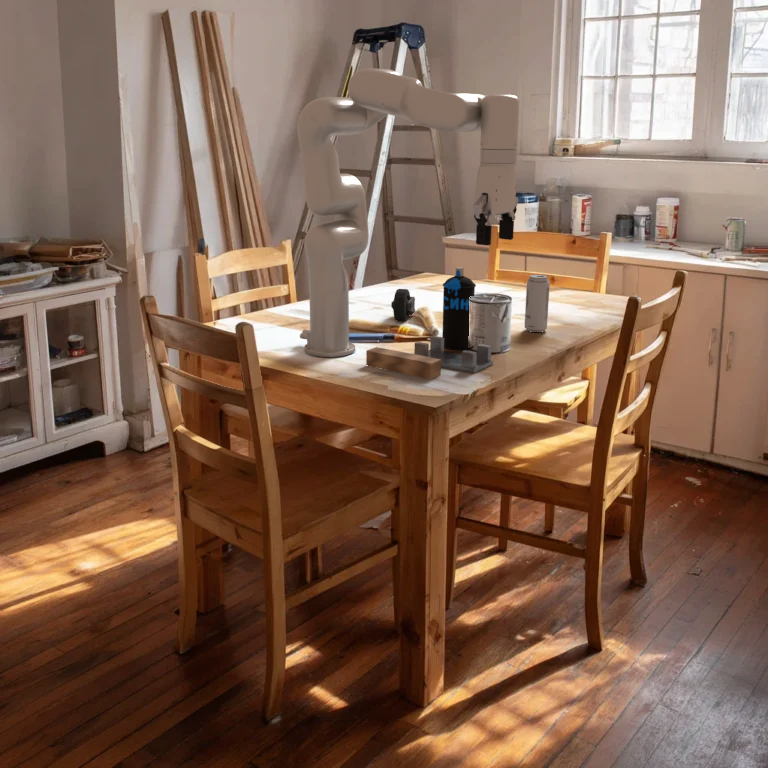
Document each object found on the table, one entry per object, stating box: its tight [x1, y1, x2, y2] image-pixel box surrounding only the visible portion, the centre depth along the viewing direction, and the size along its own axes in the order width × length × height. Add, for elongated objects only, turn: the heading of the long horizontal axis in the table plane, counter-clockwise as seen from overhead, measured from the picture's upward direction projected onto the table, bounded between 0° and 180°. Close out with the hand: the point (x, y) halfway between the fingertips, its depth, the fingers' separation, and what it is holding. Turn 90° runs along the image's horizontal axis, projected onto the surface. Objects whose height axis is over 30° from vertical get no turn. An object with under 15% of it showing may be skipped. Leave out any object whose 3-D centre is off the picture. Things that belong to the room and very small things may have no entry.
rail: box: [365, 346, 442, 380], centre depth 207 cm, size 18×4×4 cm, turn 55°
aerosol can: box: [441, 266, 477, 351], centre depth 225 cm, size 8×8×20 cm
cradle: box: [413, 335, 494, 374], centre depth 213 cm, size 17×9×4 cm, turn 55°
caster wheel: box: [391, 288, 416, 322], centre depth 255 cm, size 6×10×15 cm
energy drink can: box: [524, 273, 551, 332], centre depth 241 cm, size 6×6×15 cm
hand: (494, 241), depth 189 cm, fingers open, 9 cm apart
